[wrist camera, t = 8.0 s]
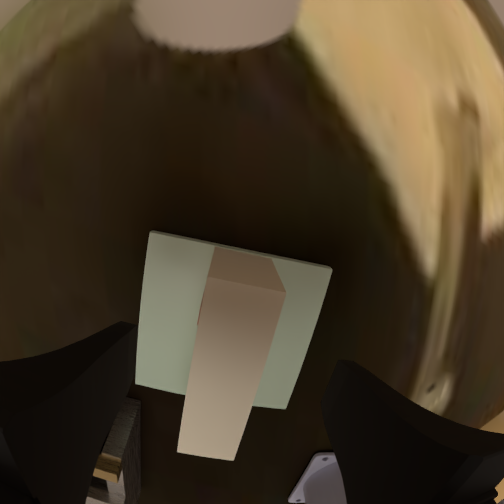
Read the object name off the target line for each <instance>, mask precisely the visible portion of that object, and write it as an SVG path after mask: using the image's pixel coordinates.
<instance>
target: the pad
mask: <svg viewBox="0 0 504 504" xmlns="http://www.w3.org/2000/svg"><path fill="white" fill-rule="evenodd" d="M215 247H220V248H225V249H229V250H234V251H239V252H243V253H248V254H253V255H257V256H262V257H267V258H271V259H272V261H273V263H274V265H275V268H276V270H277V272H278V274H279V277H280V279H281V281H282V283H283V286H284V288H285V290H286V292H287V293H286V296H285V300H284V303H283V307H282V310H281V314H280V317H279V321H278V324H277V327H276V331H275V334H274V337H273V341H272V344H271V347H270V351H269V354H268V357H267V360H266V364H265V367H264V370H263V373H262V376H261V380H260V383H259V386H258V389H257V392H256V395H255V398H254V401H253V405H252V406H260V407H269V408H279V409H286V407H287V404H288V402H289V399H290V396H291V394H292V391H293V388H294V386H295V383H296V380H297V377H298V375H299V372H300V369H301V366H302V364H303V361H304V358H305V355H306V352H307V349H308V346H309V343H310V340H311V337H312V334H313V331H314V328H315V325H316V322H317V319H318V316H319V313H320V310H321V307H322V303H323V300H324V297H325V294H326V290H327V287H328V284H329V280H330V277H331V274H332V270H333V269H332V268H331V267H330V266H325V265H320V264H315V263H311V262H306V261H301V260H296V259H291V258H286V257H281V256H276V255H272V254H267V253H262V252H257V251H252V250H247V249H242V248H237V247H232V246H228V245H223V244H218V243H213V242H208V241H203V240H198V239H193V238H188V237H183V236H179V235H174V234H169V233H164V232H159V231H154V230H152V231H151V232H150V233H149V240H148V247H147V254H146V262H145V270H144V278H143V287H142V296H141V306H140V317H139V329H138V342H137V359H136V381H135V384H139V385H143V386H147V387H151V388H155V389H160V390H164V391H169V392H173V393H178V394H183V395H186V391H187V385H188V379H189V373H190V367H191V361H192V356H193V350H194V344H195V339H196V333H197V328H198V325H197V322H198V316H199V311H200V306H201V302H202V298H203V294H204V289H205V285H206V281H207V276H208V272H209V268H210V264H211V260H212V256H213V253H214V249H215Z"/></svg>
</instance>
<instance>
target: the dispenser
mask: <svg viewBox="0 0 504 504" xmlns="http://www.w3.org/2000/svg"><path fill="white" fill-rule="evenodd" d="M140 418H141V401H140V400H136V399H132V398H128V397H126V398H125V400H124V402H123V404H122V406H121V408H120V410H119V412H118V414H117V416H116V418H115V421H114V423H113V425H112V428H111V430H110V433H109V435H108V438H107V440H106V443H105V445H104V448H103V450H102V454H99V457H98V460H97V463H96V466H95V469H94V473H93V476H92V480H91V484H90V487H89V491H88V495H87V499H86V504H138V500H139V495H140V491H141V465H140Z"/></svg>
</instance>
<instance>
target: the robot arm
mask: <svg viewBox="0 0 504 504" xmlns="http://www.w3.org/2000/svg"><path fill="white" fill-rule="evenodd" d="M137 326H138V325H135V324H131V323H127V322H123V321H120V322H118V323H116V324H114V325H111V326H109V327H108V328H106V329H104V330H102V331H100V332H98V333H96V334H93V335H91V336H89V337H87V338H85V339H83V340H81V341H78V342H76V343H73V344H71V345H69V346H66V347H64V348H61V349H58V350H55V351H52V352H49V353H45V354H42V355H38V356H34V357H29V358H23V359H17V360H12V361H2V362H0V504H86V499H87V495H88V491H89V487H90V484H91V480H92V476H93V473H94V469H95V466H96V463H97V460H98V457H99V454H100V451H101V448H102V445H103V443H104V441H105V438H106V436H107V434H108V432H109V430H110V428H111V426H112V424H113V422H114V420H115V418H116V416H117V414H118V412H119V410H120V408H121V406H122V404H123V402H124V400H125V398H126V396H127V394H128V391H129V388H130V385H131V382H132V379H133V376H134V373H135V355H136V339H137ZM321 407H322V414H323V419H324V424H325V427H326V431H327V434H328V437H329V440H330V442H331V445H332V448H333V451H334V452H330V453H317V454H315V455H314V456H313V458H312V459H311V461H310V463H309V465H308V466H307V468H306V470H305V471H304V473H303V475H302V477H301V478H300V480H299V481H298V483H297V485H296V486H295V488H294V490H293V491H292V493H291V494H290V496H289V497H288V501H289V502H290V503H306V504H496V502H495V500H494V498H496V497H497V496H498V492H497V491H496V489H495V487H496V486H497V485H498V484H499V483H500V481H501V480H502V479H503V478H504V434H501V433H494V432H488V431H484V430H480V429H476V428H472V427H468V426H465V425H462V424H459V423H456V422H454V421H451V420H448V419H446V418H443V417H441V416H439V415H437V414H435V413H433V412H431V411H429V410H427V409H425V408H423V407H421V406H419V405H418V404H416V403H414V402H413V401H411V400H409V399H408V398H406V397H405V396H403V395H402V394H400V393H399V392H397V391H396V390H394V389H393V388H391V387H390V386H389V385H387V384H386V383H384V382H383V381H382V380H380V379H379V378H377V377H376V376H375V375H373V374H372V373H371V372H369V371H368V370H366V369H365V368H363V367H362V366H360V365H359V364H357V363H355V362H354V361H346V360H338V362H337V364H336V367H335V369H334V372H333V374H332V377H331V379H330V382H329V384H328V386H327V389H326V391H325V394H324V396H323V398H322V400H321ZM498 504H504V499H503V500H501V501H500V502H499V503H498Z"/></svg>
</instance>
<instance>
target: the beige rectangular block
mask: <svg viewBox="0 0 504 504" xmlns="http://www.w3.org/2000/svg"><path fill="white" fill-rule="evenodd" d="M286 293H287V292H286V290H285V288H284V286H283V283H282V281H281V279H280V277H279V274H278V272H277V270H276V268H275V265H274V263H273V261H272V259H271V258H267V257H262V256H257V255H253V254H248V253H243V252H239V251H234V250H229V249H225V248H220V247H215V249H214V253H213V256H212V260H211V264H210V268H209V272H208V276H207V281H206V285H205V289H204V294H203V298H202V302H201V306H200V311H199V316H198V322H197V325H198V328H197V333H196V339H195V344H194V350H193V356H192V361H191V367H190V373H189V379H188V385H187V391H186V397H185V403H184V409H183V416H182V422H181V429H180V435H179V442H178V449H177V452H181V453H186V454H191V455H197V456H203V457H210V458H216V459H224V460H232V461H234V458H235V455H236V452H237V449H238V446H239V443H240V440H241V438H242V435H243V432H244V429H245V426H246V423H247V420H248V417H249V414H250V411H251V408H252V405H253V401H254V398H255V395H256V392H257V389H258V386H259V383H260V380H261V376H262V373H263V370H264V367H265V364H266V360H267V357H268V354H269V351H270V347H271V344H272V341H273V337H274V334H275V331H276V327H277V324H278V321H279V317H280V314H281V310H282V307H283V303H284V300H285V296H286Z"/></svg>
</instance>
